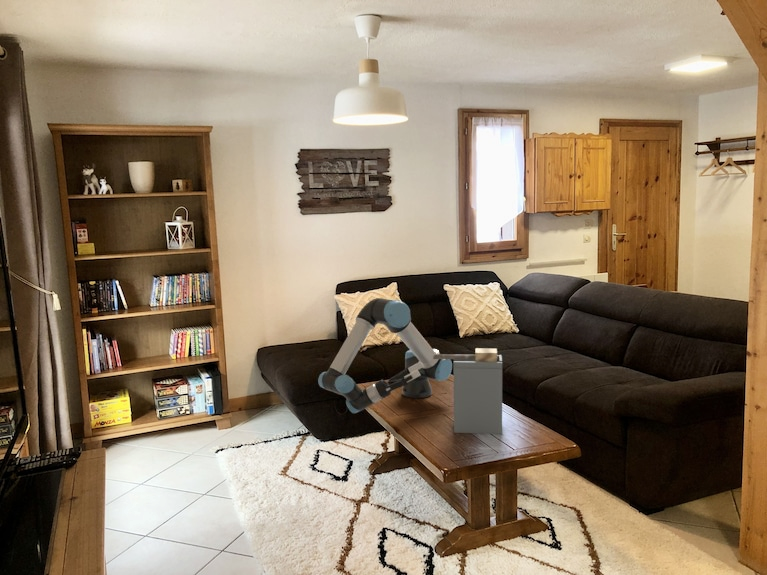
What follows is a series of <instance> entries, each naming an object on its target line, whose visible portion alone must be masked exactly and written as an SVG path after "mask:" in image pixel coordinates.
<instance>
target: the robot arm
mask: <svg viewBox="0 0 767 575" xmlns="http://www.w3.org/2000/svg"><path fill="white" fill-rule="evenodd" d="M411 320H412V317H411V309H410V308H409V306H408V305H407V304H406V303H405V302H404V301H401V300H400V301H399V300H397V299H396V300H395V299H387V298H381V297H377V298H373V299H371V300H370V301H368V302H367V303H366V304H365V305H364V306H363V307H362V308H361V310H360V311H359V312H358V314H357V315H356V317H355V323H354V324H353V326H352V328H351V330H350V332H349V334H348V336H347V337H346V339H345V340H344V342H343V344H342V346H341V347H340V349H339V351H338V353H337V354H336V356H335V357H334V359H333V361H332V363H331V364H330V366H329V368H328V370H327V371H323V372H321V373H320V374H319V377H318V378H317V379H318V380H317V381H318V385H319V387H320V388H322V389H324V390H325V391H329V392H332V393H335V394H337V395H341V396H343V397H344V398H346V400H345V404H346V406H347V408H348V410H349V411H350V412H351V413H352V414H357V413H359V412H362V411H364V410H365V409H367V408H369V407H370V406H372V405H374V404H375V403H380V401H381V400H382V399H385V398H386V397H389V396H390V395H391V392H392V391H394V390H397V389H399V388H402V389H401V392H402V396H404V397H407V398H411V399H421V398H427V397H430V396H432V394H433V388H432V386H431V383H430V380H429V379H432V380H436V381H439V382H444V381H447V380H448V378H449V377H450V375H451V373H452V372H453V371H452V370H453V363H452V359H433V354H441V353H440V351H439V350H438V349H436V348H432V346H431V345H430V344H429V343H428V341H427V340H426V339H425V338H424V337H423V335H422V334H421V333H420V331H418V329H417V327H415V325H414V324H413V322H411ZM378 324H380V325H384V326H385V327H386V328H387V329H388V331H389V332H390V333H391V334H396V335H397V336H398V337H399V339H400V340H401V341H402V342H403V343H404V344H405V346H406V347H407V348H408V349H409V350H407V351H406V352H405V354H404V355H405V357H404V369H403V370H402V371H400V372H398V373H397V374H395V375H394V376H392V377H390V378H388V381H386V380H385V379H380V380H378V381H377V382H375V383H373V384H371V385H369V386H368V387H366V388H363V389H362V388H361V387H360V386H359V385H358V384H357V383H356V382H355V381H354V379H353V378H352V377H350V376H349V375H348V374H346V373H347V371H348V370H349V368H350V367H351V364H352V363H353V361H354V359H355V357H356V356H357V354H358V352H359V350H360V349H361V347H362V345H363V343H364V341H365V340H366V338H367V336H369V334H370V333H369V332H370V331H371V330H374V329H375V327H376V325H378Z"/></svg>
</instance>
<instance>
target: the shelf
mask: <svg viewBox="0 0 767 575" xmlns="http://www.w3.org/2000/svg"><path fill="white" fill-rule="evenodd" d="M454 355H460V354H454ZM454 433H458V434H460V433H461V434H483V435H486V434H487V435H503V356H502V354H497V362H475V360H463V359H454V360H453V434H454Z"/></svg>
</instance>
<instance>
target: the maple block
mask: <svg viewBox="0 0 767 575" xmlns="http://www.w3.org/2000/svg"><path fill="white" fill-rule="evenodd" d="M474 350H475V352H474V353H475V354H459V355H455V354H445V353H444V354H442V353H440V354H433V359H450V360H455V359H463V360H475V362H497V355H498V348H491V347H490V348H488V347H486V348H485V347H484V348H479V347H476V348H475V349H474Z"/></svg>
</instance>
